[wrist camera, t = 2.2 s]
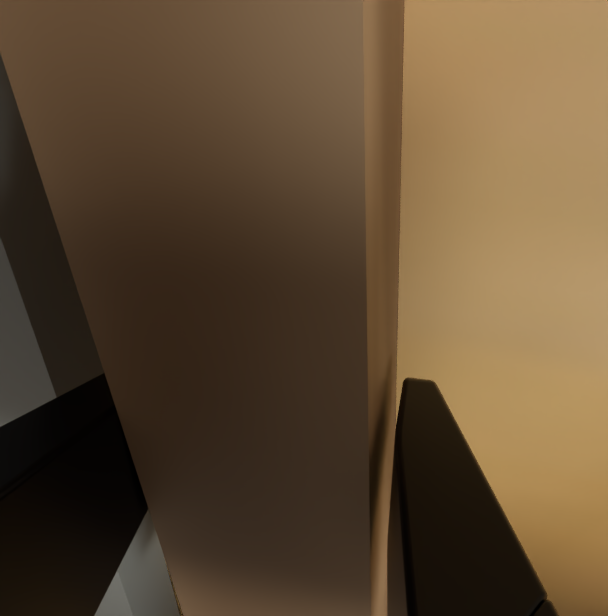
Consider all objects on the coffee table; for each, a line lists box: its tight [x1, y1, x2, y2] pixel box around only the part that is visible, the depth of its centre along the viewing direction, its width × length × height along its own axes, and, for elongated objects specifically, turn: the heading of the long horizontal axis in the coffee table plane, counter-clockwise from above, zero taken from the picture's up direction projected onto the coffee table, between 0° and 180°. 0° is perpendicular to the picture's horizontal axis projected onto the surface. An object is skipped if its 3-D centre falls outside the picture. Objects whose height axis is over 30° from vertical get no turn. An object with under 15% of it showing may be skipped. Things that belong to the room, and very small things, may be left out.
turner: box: [0, 0, 404, 616], centre depth 9 cm, size 5×18×3 cm, turn 4°
